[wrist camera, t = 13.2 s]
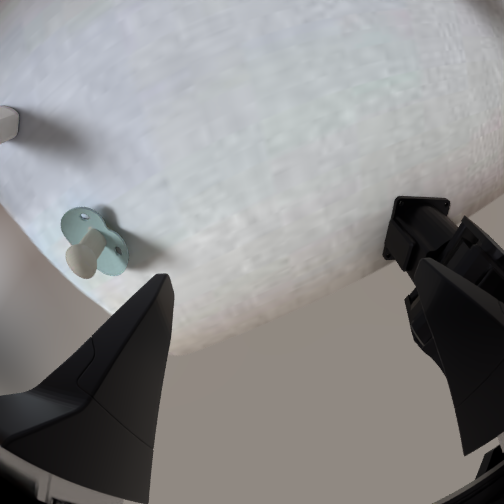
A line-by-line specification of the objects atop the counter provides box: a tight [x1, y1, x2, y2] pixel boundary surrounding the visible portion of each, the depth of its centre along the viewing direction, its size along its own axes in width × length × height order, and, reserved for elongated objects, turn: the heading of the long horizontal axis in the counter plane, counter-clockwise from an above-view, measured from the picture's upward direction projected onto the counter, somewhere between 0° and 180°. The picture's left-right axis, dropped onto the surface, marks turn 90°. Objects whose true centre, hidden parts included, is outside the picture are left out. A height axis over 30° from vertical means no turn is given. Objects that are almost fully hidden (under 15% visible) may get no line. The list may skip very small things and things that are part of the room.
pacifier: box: [61, 207, 129, 279], centre depth 20 cm, size 7×6×6 cm
